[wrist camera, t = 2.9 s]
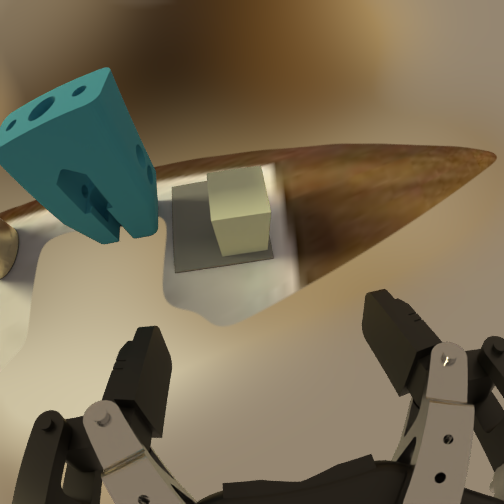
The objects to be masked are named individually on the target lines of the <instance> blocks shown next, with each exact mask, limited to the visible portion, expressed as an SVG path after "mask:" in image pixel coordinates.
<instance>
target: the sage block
mask: <svg viewBox="0 0 504 504" xmlns="http://www.w3.org/2000/svg"><path fill="white" fill-rule="evenodd" d="M207 183H208V194H209V205H210V215H211V222H212V225H213V229H214V232H215V235H216V238H217V241H218V244H219V247H220V250H221V254H222V257H224V256H231V255H237V254H244V253H251V252H257V251H264V250H268V239H269V229H270V219H271V209H270V205H269V200H268V196H267V191H266V186H265V182H264V178H263V173H262V169H261V166H255V167H247V168H240V169H233V170H226V171H219V172H213V173H207Z"/></svg>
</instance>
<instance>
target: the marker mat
mask: <svg viewBox="0 0 504 504" xmlns="http://www.w3.org/2000/svg"><path fill="white" fill-rule="evenodd" d="M172 219H173V246H174V264H175V273H179V272H186V271H192V270H199V269H206V268H213V267H220V266H226V265H233V264H240V263H246V262H253V261H259V260H266V259H273V252H272V247H271V242H270V237H269V239H268V250H264V251H257V252H251V253H244V254H237V255H231V256H224V257H222V254H221V250H220V247H219V244H218V241H217V238H216V235H215V232H214V229H213V225H212V222H211V215H210V205H209V194H208V183H207V181H204V182H198V183H192V184H187V185H181V186H176V187H172Z"/></svg>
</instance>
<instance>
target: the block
mask: <svg viewBox="0 0 504 504" xmlns="http://www.w3.org/2000/svg"><path fill="white" fill-rule="evenodd" d="M0 165H1V166H2V167H3V168H4V169H5V170H6V171H7V172H8V173H9V174H10V175H11V176H12V177H13V178H14V179H15V180H16V181H17V182H18V183H19V184H20V185H21V186H22V187H23V188H24V189H25V190H27V191H28V193H30V194H31V195H32V196H33V197H34V198H35V199H36V200H37V201H38V202H39V203H40V204H41V205H43V206H44V207H45V208H46V209H47V210H48V211H49V212H50V213H52V214H53V215H54V216H55V217H56V218H57V219H59V220H60V221H61V222H62V223H63V224H65V225H67V226H69V227H70V228H72V229H74V230H76V231H78V232H80V233H82V234H84V235H86V236H88V237H89V238H91V239H93V240H95V241H97V242H99V243H101V244H108V243H114V242H118V241H119V233H120V224H121V225H122V226H123V227H124V229H125V230H126V231H127V232H128V233H129V234H130V235H131V236H132V237H133V238H141V237H146V236H151V235H153V234H154V233H156V232H157V230H158V198H157V184H156V171H155V169H154V167H153V165H152V163H151V160H150V158H149V156H148V154H147V152H146V150H145V148H144V146H143V143H142V141H141V139H140V137H139V135H138V133H137V130H136V128H135V126H134V124H133V121H132V119H131V117H130V115H129V112H128V110H127V108H126V106H125V103H124V101H123V99H122V96H121V94H120V92H119V89H118V87H117V85H116V82H115V80H114V78H113V75H112V72H111V70H110V68H102V69H100V70H97V71H94V72H92V73H90V74H87V75H84V76H82V77H79V78H77V79H75V80H73V81H70V82H68V83H66V84H64V85H62V86H59V87H58V88H55V89H53V90H51V91H49V92H47V93H45V94H43V95H42V96H40V97H38V98H36V99H34V100H32V101H31V102H29V103H27V104H25V105H24V106H22V107H21V108H19V109H17V110H15V111H14V112H12V113H11V114H10V115H8V116H7V118H6V119H5V120H4V121H3V123H2V125H1V127H0Z"/></svg>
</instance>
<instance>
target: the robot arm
mask: <svg viewBox="0 0 504 504" xmlns="http://www.w3.org/2000/svg"><path fill="white" fill-rule="evenodd" d="M17 250H18V234H17V232H16V230H15V229H14V228H13V227H11V226H10V225H9V224H7V223H6V222H4V221H3V220H2V219H1V218H0V279H1V278H3V277H4V276H5V275H6V274H7V273H8V272H9V270H10V269H11V267H12V265H13V263H14V261H15V258H16V255H17ZM362 330H363V334H364V337H365V339H366V341H367V343H368V344H369V346H370V348H371V349H372V351H373V352H374V354H375V356H376V357H377V359H378V361H379V362H380V364H381V366H382V368H383V369H384V371H385V373H386V374H387V376H388V378H389V379H390V381H391V383H392V385H393V386H394V388H395V390H396V392H397V393H398V395H399V397H400V396H403V395H405V394H407V393H410V394H411V396H412V399H411V401H410V405H409V409H408V414H407V417H406V421H405V425H404V429H403V432H402V436H401V439H400V442H399V445H398V447H397V449H396V451H395V453H394V456H393V458H392V460H391V461H386V460H383V461H374V460H373V457H372V455H371V454H370V455H367V456H364V457H361V458H358V459H354V460H351V461H348V462H345V463H341V464H338V465H336V466H334V467H332V468H330V469H328V470H326V471H324V472H322V473H320V474H318V475H316V476H313V477H311V478H309V479H307V480H304V481H301V482H283V481H267V480H256V481H247V482H234V483H223V491H220V492H217V493H214V494H212V495H209V496H207V497H205V498H203V499H201V500H200V501H199V502H197V501H196V500H195V499H194V498H193V497H192V496H191V495H190V494H189V493H188V492H187V491H186V490H185V489H184V488H183V487H182V486H181V485H180V483H179V482H178V481H177V480H176V479H175V478H174V476H173V475H172V474H171V472H170V471H169V470H168V469H167V467H166V466H165V465H164V463H163V462H162V461H161V459H160V458H159V457H158V455H157V454H156V453H155V451H154V450H153V449H152V447H151V446H150V445H151V438H162V433H163V426H164V418H165V411H166V404H167V397H168V390H169V384H170V378H171V371H172V361H171V356H170V354H169V351H168V349H167V346H166V344H165V341H164V339H163V336H162V334H161V331H160V329H159V328H158V326H149V327H139V328H138V329H137V331H136V333H135V336H134V339H133V341H128V342H127V343H126V344H125V345H124V346H123V347H122V348H121V350H120V351H119V354H118V356H117V359H116V362H115V364H114V367H113V371H112V372H111V375H110V378H109V381H108V383H107V386H106V389H105V392H104V395H103V398H102V401H98V402H95V403H94V404H92V405H91V406H90V407H89V408H88V409H87V410H86V411H85V414H84V416H81V417H76V418H70V419H64V418H63V417H62V416H61V415H60V413H58V412H57V411H53V410H50V411H46V412H44V413H42V414H41V415H39V417H38V418H37V419H36V421H35V423H34V426H33V428H32V431H31V434H30V437H29V440H28V443H27V446H26V450H25V453H24V456H23V460H22V463H21V467H20V470H19V475H18V478H17V483H16V487H15V491H14V496H13V502H12V504H100V495H101V486H102V481H103V483H104V485H105V487H106V488H107V490H108V492H109V494H110V496H111V497H112V499H113V501H114V503H115V504H504V410H503V409H502V407H501V405H500V404H499V402H498V400H497V399H496V397H495V396H494V394H493V393H492V392H491V391H492V389H493V388H494V386H496V387H497V389H498V390H499V392H500V393H501V394H502V396H503V398H504V339H503V338H501V337H498V336H492V337H488V338H487V339H486V340H485V341H484V343H483V345H482V347H481V349H478V350H470V351H464V350H463V348H461V347H460V346H459V345H457V344H454V343H451V342H442V341H441V340H440V339H439V338H438V337H437V336H436V334H435V333H434V332H433V331H432V330H431V329H430V328H429V327H428V325H427V324H426V323H425V322H424V321H423V320H421V317H420V316H419V315H418V314H416V312H415V311H414V310H413V309H412V307H411V306H410V305H409V304H407V303H405V302H404V301H402V300H400V299H394V298H393V297H392V295H391V294H390V293H389V292H388V291H387V290H385V289H382V290H378V291H373V292H369V293H367V294H366V296H365V303H364V312H363V320H362ZM473 430H474V432H475V433H476V435H477V437H478V439H479V441H480V443H481V445H482V447H483V449H484V451H485V453H486V455H487V457H488V459H489V462H490V464H491V466H492V468H493V470H494V472H495V473H494V477H493V481H492V482H491V484H490V491H491V492H492V493H495V494H494V497H492V496H488V495H485V494H482V493H479V492H475V491H472V490H469V489H467V488H464V486H465V481H466V476H467V472H468V466H469V460H470V454H471V446H472V437H473ZM65 462H66V463H67V468H66V473H65V478H64V483H63V489H62V488H61V479H62V474H63V469H64V465H65ZM103 470H104V472H103Z"/></svg>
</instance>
